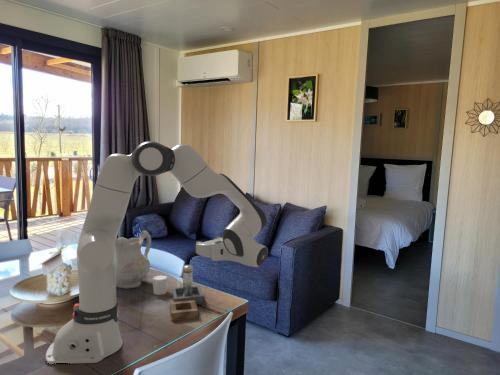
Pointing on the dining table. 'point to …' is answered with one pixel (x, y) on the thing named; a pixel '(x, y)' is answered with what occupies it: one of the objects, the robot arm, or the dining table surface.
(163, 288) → the shot glass
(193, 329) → the dining table surface
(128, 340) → the dining table surface
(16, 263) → the dining table surface
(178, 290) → the tray
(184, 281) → the steel pin
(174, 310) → the socket block
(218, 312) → the dining table surface
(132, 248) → the ceramic pitcher
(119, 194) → the robot arm
